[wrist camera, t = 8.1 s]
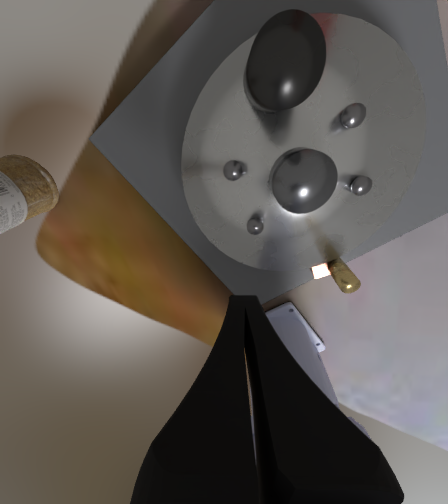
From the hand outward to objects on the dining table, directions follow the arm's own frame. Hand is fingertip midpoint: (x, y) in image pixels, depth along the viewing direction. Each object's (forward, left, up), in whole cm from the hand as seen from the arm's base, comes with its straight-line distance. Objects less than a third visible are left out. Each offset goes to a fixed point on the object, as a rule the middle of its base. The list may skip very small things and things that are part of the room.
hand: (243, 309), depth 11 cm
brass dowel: (-7, -5, -9) cm, 13 cm away
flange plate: (+1, -6, -8) cm, 10 cm away
